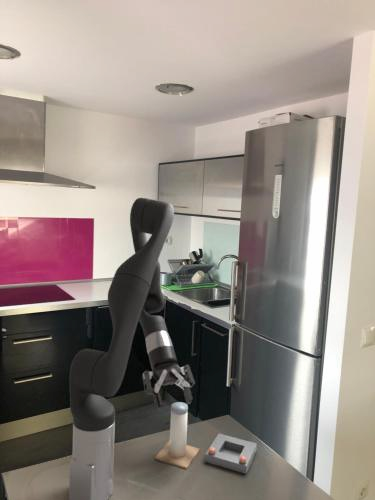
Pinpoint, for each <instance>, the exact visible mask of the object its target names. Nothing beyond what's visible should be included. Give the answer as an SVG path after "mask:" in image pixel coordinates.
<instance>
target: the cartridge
mask: <svg viewBox="0 0 375 500" xmlns="http://www.w3.org/2000/svg"><path fill="white" fill-rule="evenodd" d="M188 405H189V404H187V403H186V402H181V401H176V402H173V403H171V406H170V431H169V441H170V451H169V453H170V455H171V456H173V457H176V458H180V457H183V456H185V455H186V445H187V441H188V440H187V438H188V437H187V435H188V410H189V406H188Z"/></svg>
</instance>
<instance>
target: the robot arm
mask: <svg viewBox="0 0 375 500" xmlns="http://www.w3.org/2000/svg"><path fill="white" fill-rule="evenodd" d="M174 216H175V208H174V206H173V204H171V203H170V202H166V201H162V200H157V199H152V198H145V197H138V198H136V199H135V200H134V202H133V203H132V205H131V209H130V214H129V226H130V232H131V238H132V244H133V249H134V254H132V255H131V256H130V257H128V258H127V259H126V260H125V261H123V262H122V263H121V264H120V266H118V267H117V269H116V270H115V273H114V275H113V277H112V281H111V284H110V286H109V288H108V291H107V292H108V293H107V303H108V304H107V305H108V309H109V313H110V317H111V322H112V323H111V324H112V329H113V330H112V337H111V342H110V344H109V349H108V351H107V352H106V351H102V350H97V349H92V348H83V349H81V350H80V351H78V352H77V353H76V354H75V356H74V358H73V359H72V362H71V364H70V367H69V369H70V370H69V377H68V378H69V380H68V381H69V382H68V383H69V385H68V386H69V408H70V413H71V415H72V453H71V454H72V455H71V456H72V458H70V460H69V477H68V480H69V483H68V484H69V485H68V487H69V488H68V500H109V499H110V498H111V497H112V495H113V491H114V466H115V465H114V461H115V431H116V430H115V429H116V424H115V423H116V409H115V406H114V405H113V404H112V403H111V402H110V401H109V400H108V399H106V398H111V397H113V396H115V395H116V393H117V392H118V391H119V389H120V387H121V385H122V384H123V380H124V377H125V374H126V370H127V366H128V362H129V357H130V353H131V350H132V345H133V340H134V336H135V333H136V330H137V326H138V323H140V326H141V327H142V331H143V335H144V339H145V346H146V353H147V355H148V359H149V363H150V367H151V370H152V371H149V370H147V369H146V370H145V371H144V372H143V373H142V383H143V389H144V394H145V395H146V396H152V397H153V402H154V406H155V408H157V409H158V411H159V410H162V409H163V407H164V404H163V401H162V397H161V393H160V392H159V391H160V389H161V387H162V386H163V387H166V386H168V385H170V386H171V385H174V384H175V385H176V386H178V387H179V388H180V389H182V390H183V395H184V399H185V403H186V404H187V405H190V404H191V403H192V402H193V401H192V400H193V394H192V391H191V388H192V387H193V386H194V385H195V384H196V381H195V378H194V375H193V373H192V370H191V367H190V365H189V364H186V365H184V366H181V367H180V366H179V364H178V360H177V355H176V352H175V349H174V345H173V342H172V339H171V337H170V335H169V331H168V328H167V324H166V322H165V319H164V317H163V316H161V315H156V314H155V313H160V312H161V311H162V310H164V308H165V305H166V304H165V298H164V294H163V292H162V288H161V287H162V286H161V264H160V261H159V258H160V256H161V252H162V250H163V248H164V245H165V244H166V240H167V238H168V235H169V233H170V231H171V228H172V226H173V223H174V218H175V217H174ZM147 234H149V235H150V237H149V238H147ZM153 314H154V315H153ZM181 374H182V375H183V376H182V375H181ZM152 378H153V379H155V381H156V383H155V384H154V387H152V382H151V379H152Z"/></svg>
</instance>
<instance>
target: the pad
mask: <svg viewBox="0 0 375 500" xmlns="http://www.w3.org/2000/svg"><path fill="white" fill-rule="evenodd" d="M200 450H201V449H200V448H198V447H195V446H192V445H189V444H186V455H185V456H183V457H180V458H176V457H173V456H171V455H170V453H169V451H170V440H168V441H167V443H166V444H165V445H164V447H162V448H161V450H160V451H158V453H157V455H156V456H155V457H154V460H156V461H159V462H163V463H166V464H169V465H172V466H175V467H179V468H181V469H185V470H188V468H189V467H190V465H191V464H192V463H193V462H194V459H195V458H196V456H197V455H198V454H199V452H200Z"/></svg>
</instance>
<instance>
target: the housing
mask: <svg viewBox="0 0 375 500" xmlns="http://www.w3.org/2000/svg"><path fill="white" fill-rule="evenodd" d="M257 446H258V443H256V442H252V441H248V440H245V439H242V438H241V439H240V438H237V437H234V436H231V435H226V434H223V433H218V434H217V436H216V437H215V438H214V440H213V442H212V443H211V444H210V446H209V448H207V449H208V450H207V451H206V452H205V454H204V462H205V463H208V464H212V465H214V466H217V467H218V466H219V467H222V468H225V469H228V470H232V471H236V472H239V473H242V474H245V475H246V474H247V472H248V471H249V468H250V467H251V464H252V462H253V459H254V457H255V456H256V455H255V454H256V452H257Z"/></svg>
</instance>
